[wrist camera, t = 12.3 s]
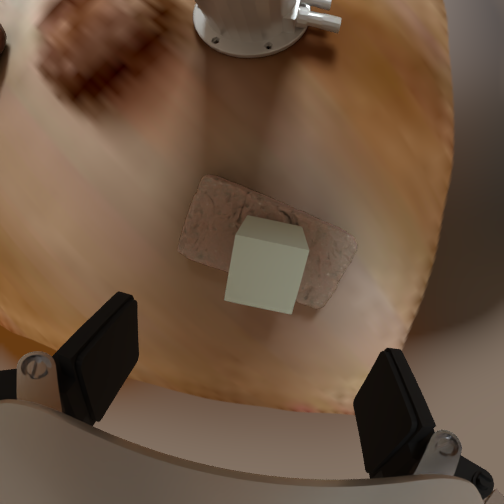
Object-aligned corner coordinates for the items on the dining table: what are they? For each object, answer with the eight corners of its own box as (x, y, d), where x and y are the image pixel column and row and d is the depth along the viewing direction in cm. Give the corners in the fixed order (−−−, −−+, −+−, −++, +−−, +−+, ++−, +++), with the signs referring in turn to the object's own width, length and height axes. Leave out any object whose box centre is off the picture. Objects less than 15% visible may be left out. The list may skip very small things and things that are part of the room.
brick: (354, 232, 30) (365, 244, 25) (320, 296, 32) (325, 317, 28) (211, 170, 30) (199, 172, 25) (186, 240, 32) (171, 253, 28)
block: (302, 226, 26) (309, 250, 19) (289, 277, 27) (291, 314, 21) (247, 214, 26) (235, 234, 19) (237, 266, 27) (223, 300, 21)
